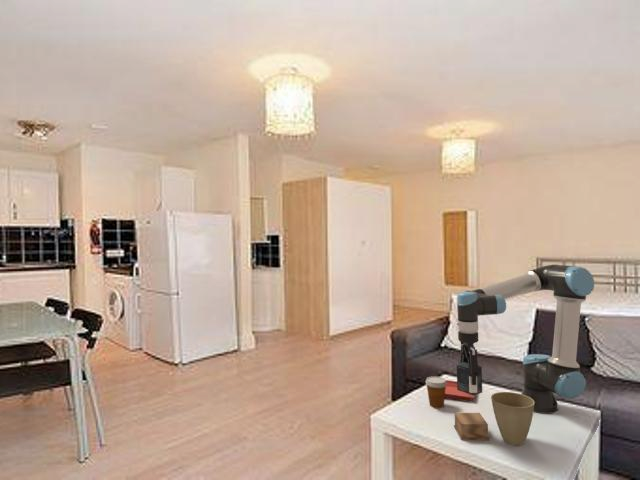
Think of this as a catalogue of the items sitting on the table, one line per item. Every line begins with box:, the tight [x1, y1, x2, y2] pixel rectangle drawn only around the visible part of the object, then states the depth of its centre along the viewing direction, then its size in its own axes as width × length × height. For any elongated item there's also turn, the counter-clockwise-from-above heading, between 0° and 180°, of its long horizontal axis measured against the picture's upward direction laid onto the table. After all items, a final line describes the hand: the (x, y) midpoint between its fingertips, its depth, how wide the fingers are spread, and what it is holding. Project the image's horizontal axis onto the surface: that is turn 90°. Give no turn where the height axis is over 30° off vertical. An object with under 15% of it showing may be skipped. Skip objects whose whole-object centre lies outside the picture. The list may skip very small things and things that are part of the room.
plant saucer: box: [445, 379, 475, 402], centre depth 199 cm, size 18×18×3 cm
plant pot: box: [490, 391, 535, 446], centre depth 153 cm, size 15×15×16 cm
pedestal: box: [453, 412, 490, 441], centre depth 159 cm, size 11×11×6 cm
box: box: [456, 362, 483, 397], centre depth 159 cm, size 8×6×11 cm
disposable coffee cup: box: [425, 376, 447, 409], centre depth 186 cm, size 10×10×12 cm
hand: (469, 387), depth 159 cm, fingers closed on box, 9 cm apart
